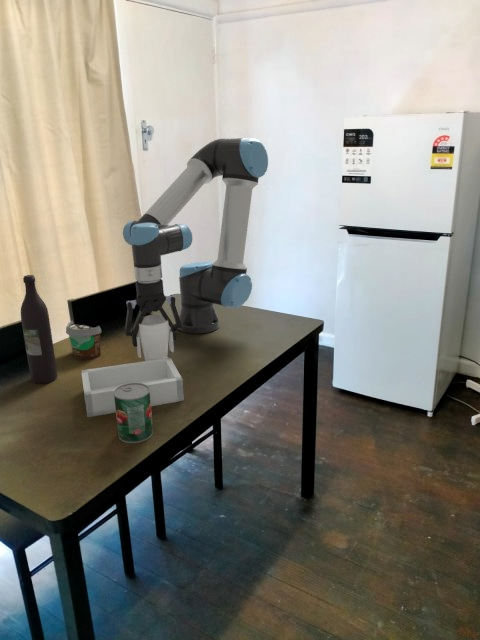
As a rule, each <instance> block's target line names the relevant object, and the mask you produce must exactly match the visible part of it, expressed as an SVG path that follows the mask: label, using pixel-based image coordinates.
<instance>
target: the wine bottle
mask: <svg viewBox="0 0 480 640" xmlns="http://www.w3.org/2000/svg"><path fill="white" fill-rule="evenodd" d="M22 279H23V283H24V287H25V295H24V299H23V301H22V304H21V306H20V321H21V326H22V332H23V339H24V345H25V351H26V357H27V363H28V370H29V377H30V380H31V382H32V383H33V384H39V385H43V384H49V383H52V382H53V381H55V380H57V378H58V371H57V370H58V369H57V364H56V363H57V362H56V355H55V349H54V343H53V335H52V334H53V333H52V329H51V321H50V314H49V311H48V307H47V305H46V303H45V302H44V300H43V298H42V297H41V296H40V295H39V293H38V291H37V287H36V277H35V275H34V274H27V275H23V278H22Z"/></svg>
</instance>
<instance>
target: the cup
mask: <svg viewBox="0 0 480 640" xmlns="http://www.w3.org/2000/svg"><path fill="white" fill-rule="evenodd" d="M169 329H170V326H169V324H168V320H167V321H166V320H165V319H164V317H163V315H162V314H150V315H145V316H144V318H143V321H142V323H141V324H139V331H138V333H137V334H138V335H139V338H140V347H141V349H142V353H143V356H144V361H149V360H156V359H163V358H169V357H168V354H169Z"/></svg>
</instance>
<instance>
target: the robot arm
mask: <svg viewBox="0 0 480 640" xmlns="http://www.w3.org/2000/svg"><path fill="white" fill-rule="evenodd" d="M268 166H269V157H268V151H267V149H266V147H265V146H264V144H263V143H262V141H260V140H258V139H257V138H252V137H251V138H248V137H242V138H218V139H215V140H211V141H210V142H208V143H207V144H205V145H204V146H203V147H202V148H200V149H199V150H198V151H197V152H196V153H194V154H193V156H191V158H190V159H189V160H188V161H187V163H186V167H185V169H184V170H183V171H182V172H181V173H180V174H179V176H178V177H177V178H176V179H175V180H174V181H173V182H172V183H171V184H170V186H168V187H167V189H166V190H164V192H162V194H161V195H160V196H159V197H158V198H157V199H156V200H155V202H154V203H153V204H152V205H151V206H150V207H149V208H148V209H147V211H146V212H144V214H143V215H142V216H141V217H140V218H139V219H138V220H131V221H128V222H126V224H125V225H124V227H123V228H122V236H123V240H124V241H125V243H126V244H127V245H130V246H131V250H132V251H131V253H132V259H133V270H134V280H135V288H136V289H135V290H136V291H135V292H136V298H135V299H134V300H133V299H132V300H129V299H128V300H126V302H125V303H126V307H127V309H126V310H127V311H126V318H125V326H124V333H125V335H126V336H127V337H129V336H130V337H131V341H132V346H133V348H136V353H137V354H136V355H137V357H138V359H140V358H142V350H141V349H142V347H141V342H140V338H139V334H138V331H139V324H141V323H142V321H143V318H144V317H145V316H147V314H148V313H151V312H152V313H153V312H154V313H156V312H158V311H159V313H160V315H162V316H163V317H164V319H165V320H166V321H167V320H168V324H169V342H168V348H169V351H170V352H171V354H172V353H175V346H174V345H175V344H174V342H176V341H177V330H179V331H180V332H183V333H186V334H206V333H210V332H211V333H212V332H214V331H215V330H218V329H219V328H220V318H219V315H218V312H217V309H216V307H215V305H219V306H223V307H225V308H233V309H236V308H240V307H242V306H243V305H244V304H245V303H246V302H247V301H248V300H249V297H250V295H251V293H252V289H253V282H252V279H251V276H250V275H248V274H247V272H248V271H247V270H248V267H247V266H246V264H244V263H245V262H244V260H245V258H244V257H245V252H246V251H245V250H246V244H247V243H246V242H247V236H248V227H249V221H250V219H249V218H250V212H251V211H250V210H251V203H252V196H253V189H254V188H255V187H257V186H258V185H259V178H262V177H263V176H265V175H266V174H265V173H266V172H267V170H268ZM221 176H222V179H221V180H222V182H223V183H224V185H225V193H224V200H223V201H224V202H223V209H222V219H221V226H220V236H219V241H218V242H219V245H218V252H217V259H216V260H215V261H214V262H211V261H198V262H190V263H186V264H184V265H182V266H180V268H179V277H178V281H179V292H180V310H179V312H178V309H177V306H176V298H175V296H174V295H173V294H170V295H165V293H164V292H165V291H164V290H165V289H164V281H163V279H162V278H163V272H162V270H163V269H162V256H165V255H169V254H173V253H177V252H182V251H183V250H186V249H189V248H190V247H191V245H192V243H193V232H192V230H191V229H190V228H189V226H188V225H187V224H185V223H178V224H177V223H175V224H173V225H172V224H171V225H169V224H170V223H171V222H172V221H173V220H174V219H175V218H176V217H177V216H178V214H179V213H180V212H181V211H182V209H184V208H185V206H186V205H187V204H188V203H189V202H190V201H191V199H193V197H194V196H195V195H196V194H197V192H199V190H200V189H201V188H202V187H203V186H204V185H205V184H209V183H210V182H211V181H213V179H215V178H217V177H221ZM165 302H167V303H168V304H169V307H170V309H171V313H172V316H173V320H174V322H175V323H173V322H172V320H171V318H170V317H169V316H168V314H167V312H166V311H165V309H164V308H163V305H164V304H165ZM136 305H137V306H138V307H139V311H138V313H137V316H136V319H135V322H134V324H133V326H132V321H133V314H134V309H135V307H136Z"/></svg>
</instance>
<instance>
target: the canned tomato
mask: <svg viewBox="0 0 480 640" xmlns="http://www.w3.org/2000/svg"><path fill="white" fill-rule="evenodd" d="M114 399H115V408H116V412H115V415H116V416H115V417H116V425H117V426H116V427H117V434H118V435H117V436H118V439H119V440H120V441H121V442H124V443H125V444H138V443H142V442H145V441H148V440H149V439H150V438H151V437H152V436H153V434H154V427H153V415H152V406H151V400H150V388H149V387H148V386H147V385H145V384H142V383H128V384H124V385H121V386H119V387H118V388H116V389H115V391H114Z"/></svg>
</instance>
